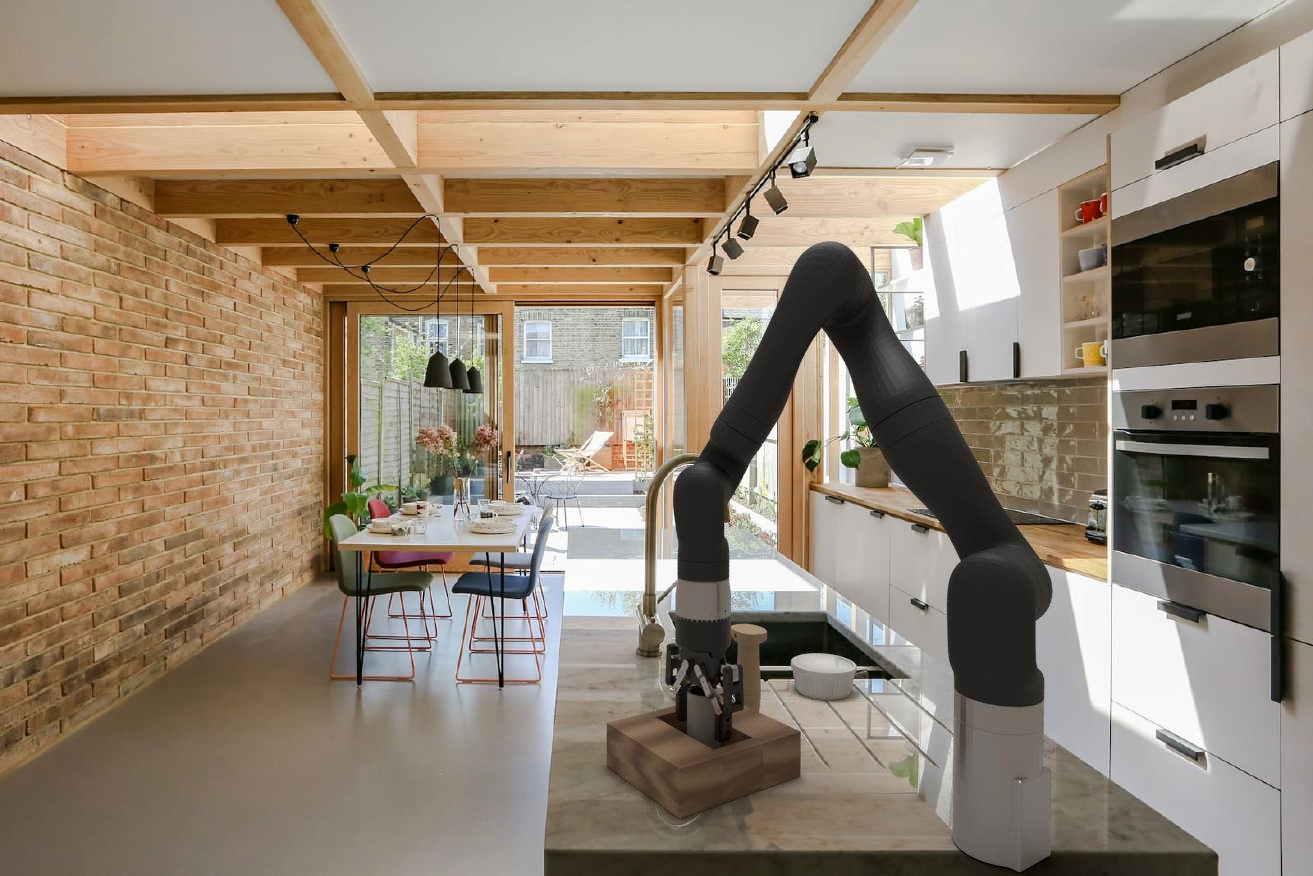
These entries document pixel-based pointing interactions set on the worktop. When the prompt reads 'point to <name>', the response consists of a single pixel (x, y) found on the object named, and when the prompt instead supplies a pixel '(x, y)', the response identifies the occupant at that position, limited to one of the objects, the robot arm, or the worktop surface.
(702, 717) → the grey cylinder
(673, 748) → the well block
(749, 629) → the handle
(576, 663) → the worktop surface
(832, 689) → the ramekin
